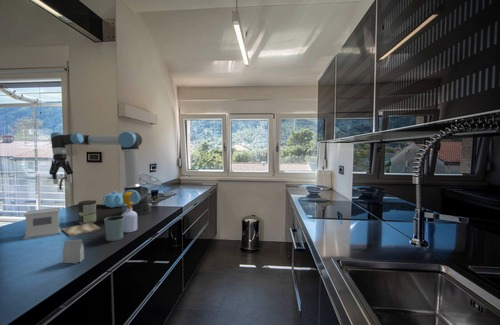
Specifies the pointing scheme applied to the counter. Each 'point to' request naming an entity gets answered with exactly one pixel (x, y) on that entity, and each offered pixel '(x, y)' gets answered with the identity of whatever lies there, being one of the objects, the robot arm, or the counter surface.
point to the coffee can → (87, 211)
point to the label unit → (42, 223)
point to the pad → (80, 229)
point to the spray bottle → (129, 215)
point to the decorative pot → (113, 200)
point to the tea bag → (73, 251)
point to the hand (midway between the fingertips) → (63, 183)
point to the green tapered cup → (114, 228)
